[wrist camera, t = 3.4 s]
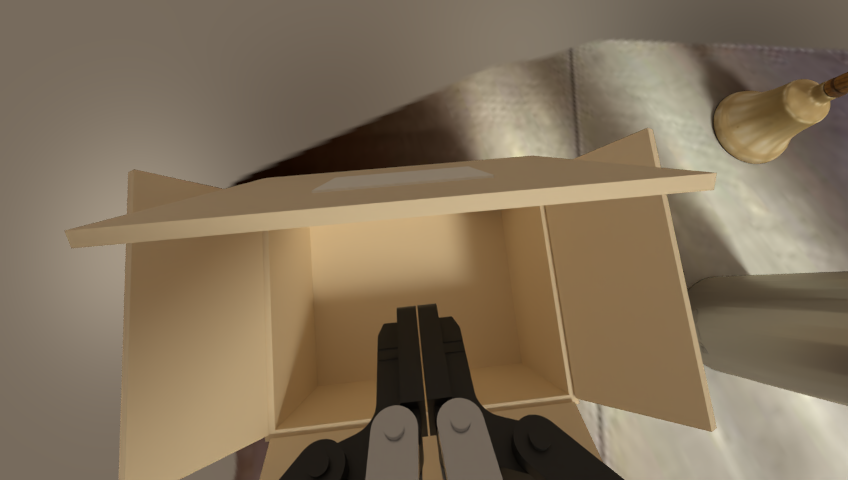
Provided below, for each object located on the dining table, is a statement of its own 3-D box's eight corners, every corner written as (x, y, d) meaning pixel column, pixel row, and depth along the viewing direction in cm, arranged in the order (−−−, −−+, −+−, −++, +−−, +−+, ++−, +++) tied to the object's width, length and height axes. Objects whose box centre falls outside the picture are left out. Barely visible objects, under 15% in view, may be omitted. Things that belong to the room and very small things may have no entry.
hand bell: (802, 136, 36) (1108, 17, 20) (748, 178, 35) (1025, 87, 19) (750, 79, 37) (1004, -80, 21) (696, 118, 36) (920, -17, 20)
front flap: (532, 162, 23) (532, 154, 23) (713, 189, 10) (716, 169, 10) (267, 185, 22) (265, 176, 22) (71, 248, 9) (63, 226, 9)
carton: (540, 200, 34) (722, 72, 14) (583, 478, 30) (920, 851, 10) (266, 225, 32) (34, 123, 13) (275, 519, 29) (-36, 1041, 9)
